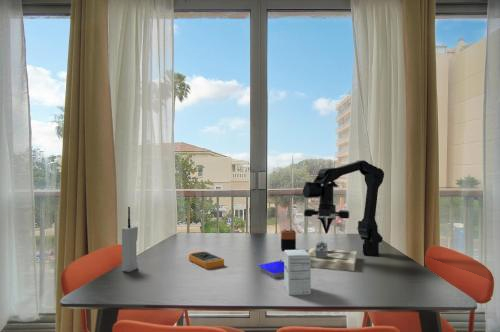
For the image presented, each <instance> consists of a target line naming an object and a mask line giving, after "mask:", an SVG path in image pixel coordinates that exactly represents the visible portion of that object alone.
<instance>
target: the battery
mask: <svg viewBox="0 0 500 332" xmlns="http://www.w3.org/2000/svg"><path fill="white" fill-rule="evenodd" d="M296 233H297V232H296V231H295V230H294V228H289V230H287V229H282V230H280V249H281V251H282V252H284V250H297V241H296V240H297V239H296V238H297V237H296V236H297V234H296Z"/></svg>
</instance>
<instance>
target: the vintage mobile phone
mask: <svg viewBox="0 0 500 332" xmlns="http://www.w3.org/2000/svg"><path fill="white" fill-rule="evenodd" d="M127 216H128V217H127V226H125V227H122V228H121V271H122V272H127V273H129V272H133V271H135V270H138V269H139V263H138V261H137V241H138V232H139V227H138V226H132V225H131V208H130V206H128V208H127Z"/></svg>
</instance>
